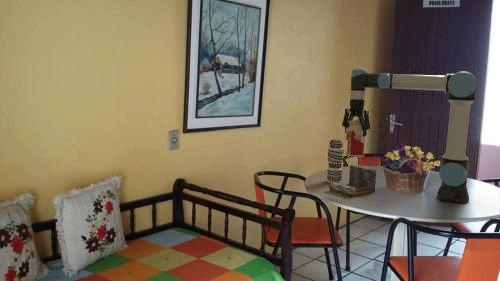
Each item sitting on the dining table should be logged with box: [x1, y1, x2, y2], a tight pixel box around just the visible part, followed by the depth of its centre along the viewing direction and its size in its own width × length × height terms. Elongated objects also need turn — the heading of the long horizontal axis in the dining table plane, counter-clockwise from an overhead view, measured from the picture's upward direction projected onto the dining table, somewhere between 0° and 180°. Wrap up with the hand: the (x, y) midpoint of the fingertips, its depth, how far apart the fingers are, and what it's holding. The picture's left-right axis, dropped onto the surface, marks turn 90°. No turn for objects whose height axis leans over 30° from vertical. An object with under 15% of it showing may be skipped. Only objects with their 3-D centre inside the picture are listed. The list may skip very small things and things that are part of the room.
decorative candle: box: [326, 138, 344, 184], centre depth 253 cm, size 9×9×25 cm
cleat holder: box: [328, 164, 377, 198], centre depth 233 cm, size 16×19×12 cm
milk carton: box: [345, 118, 366, 158], centre depth 230 cm, size 9×9×20 cm
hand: (354, 141), depth 230 cm, fingers closed on milk carton, 9 cm apart
